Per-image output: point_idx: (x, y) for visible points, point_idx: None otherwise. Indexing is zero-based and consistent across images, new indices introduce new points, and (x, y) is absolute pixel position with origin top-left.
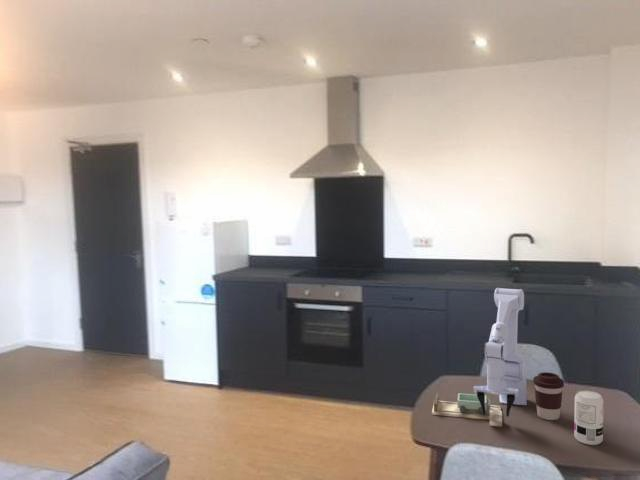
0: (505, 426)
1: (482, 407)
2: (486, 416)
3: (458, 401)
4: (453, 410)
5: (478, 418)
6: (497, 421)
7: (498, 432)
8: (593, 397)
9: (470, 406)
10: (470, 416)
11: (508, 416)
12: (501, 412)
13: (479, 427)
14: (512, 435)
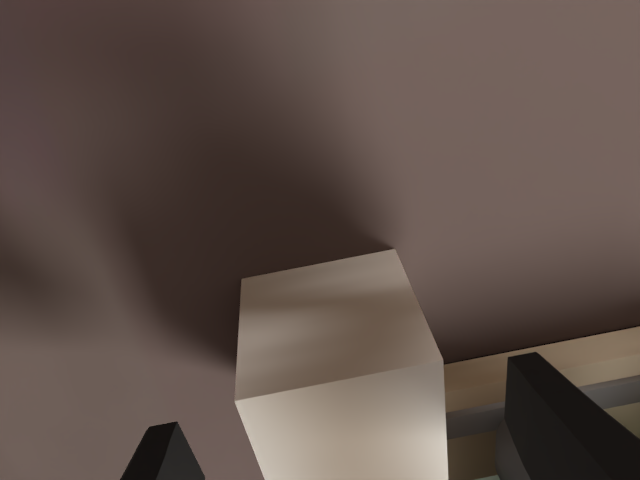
0: (202, 295)
1: (634, 445)
2: (452, 396)
3: None
4: None
5: (531, 349)
6: (303, 308)
7: (246, 72)
8: None
9: None
10: (629, 343)
11: (147, 429)
12: (268, 477)
13: (532, 130)
14: (5, 51)
